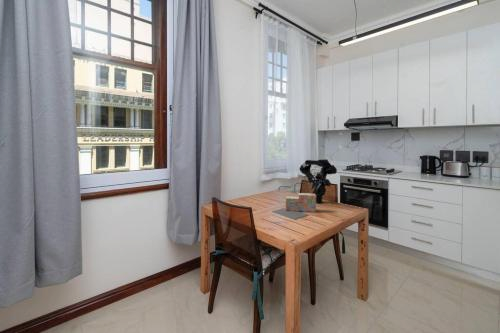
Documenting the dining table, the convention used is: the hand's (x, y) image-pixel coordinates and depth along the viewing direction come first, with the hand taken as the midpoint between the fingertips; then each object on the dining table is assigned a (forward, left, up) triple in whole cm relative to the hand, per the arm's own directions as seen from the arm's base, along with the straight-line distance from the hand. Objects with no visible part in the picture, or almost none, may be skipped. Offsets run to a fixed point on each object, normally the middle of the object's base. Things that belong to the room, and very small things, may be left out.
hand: (313, 189), depth 186 cm
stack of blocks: (+16, 0, -13) cm, 21 cm away
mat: (+27, 0, -14) cm, 30 cm away
